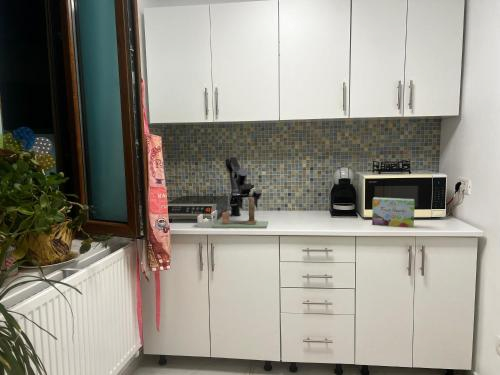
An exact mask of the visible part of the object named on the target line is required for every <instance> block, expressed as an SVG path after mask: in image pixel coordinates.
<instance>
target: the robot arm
mask: <svg viewBox="0 0 500 375" xmlns="http://www.w3.org/2000/svg"><path fill="white" fill-rule="evenodd" d="M223 164H224V167H225V171H226V172H227V173H228V178H229V185H230V195H229V197H228V202H227V204H228V207H230V213H229V217H240V216H241V215H242V214H241V210H243V205H244V204H243V203H244V202H243V201H244V199H246V198H254V207H255V208H258V200H260V197H261V196H262V191H261V190H253V189H254V188H255V184H254V182H251V181H250V182H249V183H247V182H246V181H247V178H248V174H249V172H248V170H247V169H246V168H244V167H241V166H240V164H239V159H238V157H236V156H232V157H228V158H227V159H225V160H224V162H223ZM251 190H253V192H252V193H251ZM240 209H241V210H240Z"/></svg>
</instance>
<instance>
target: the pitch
mask: <svg viewBox="0 0 500 375" xmlns="http://www.w3.org/2000/svg"><path fill="white" fill-rule="evenodd" d="M214 214H215V218H214V219H213V215H214ZM196 218H197V219H196V220H197V228H212V229H267V228H268V226H269V225H268V224H269V221H268V220H262V221H261V220H257V222H256V224H247V223H228V224H223V223H222V221H223V220H218V209H217V210H215V211H213V212H212V213H211V218H212V219H208V220H209V222H202V220H203V214H201V213H200V214H199V215H198V216H197V217H196ZM213 223H214V224H213Z"/></svg>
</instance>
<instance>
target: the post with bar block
mask: <svg viewBox="0 0 500 375" xmlns="http://www.w3.org/2000/svg"><path fill="white" fill-rule="evenodd" d="M247 202H248V219H247V220H230V213H229V211H223V212H222V213H221V216H222V217H221V221H222V223H223V224H228V223H247V224H256V222H257V221H258V220H257V219H255V204H254V198H252V197H249V198H248V201H247Z"/></svg>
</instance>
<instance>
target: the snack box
mask: <svg viewBox="0 0 500 375" xmlns="http://www.w3.org/2000/svg"><path fill="white" fill-rule="evenodd" d="M371 211H372V217H371V218H372V219H371V225H373V226H384V227H385V226H387V227H397V228H414V227H415V223H414V222H415V198H398V197H397V198H396V197H375V196H374V197H373V198H372V210H371Z"/></svg>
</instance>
